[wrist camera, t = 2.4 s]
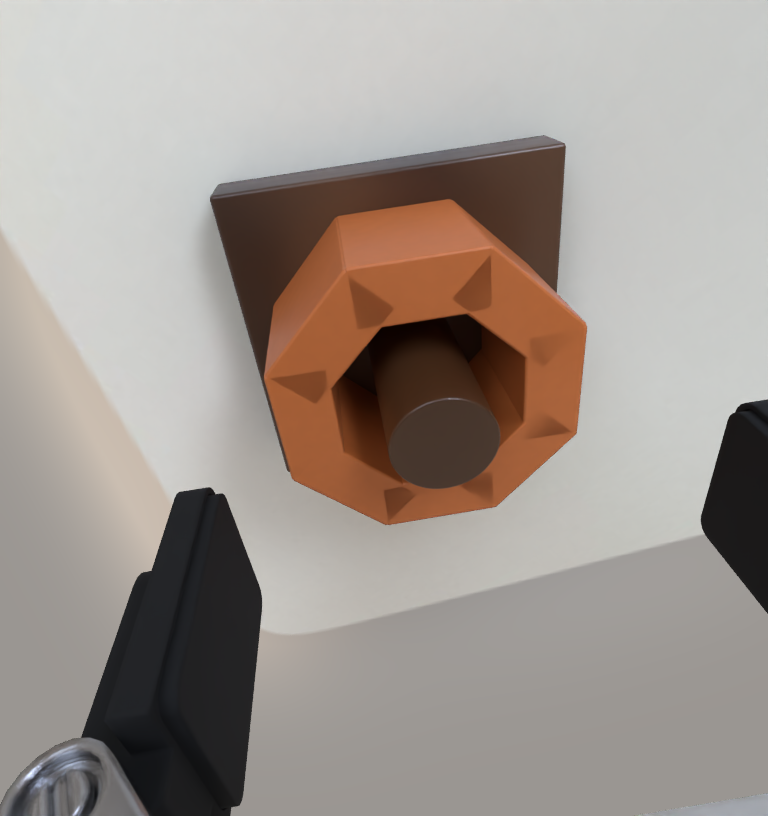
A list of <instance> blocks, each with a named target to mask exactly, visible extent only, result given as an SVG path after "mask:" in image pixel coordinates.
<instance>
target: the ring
mask: <svg viewBox="0 0 768 816" xmlns="http://www.w3.org/2000/svg"><path fill="white" fill-rule="evenodd" d="M463 314H468V315H469V316H470V317H472V318H473V319H474V320H476V321H477V322H478V323H480V324H481V337H482V349H481V350H480V351H479V352H478V353H477V354H476V355H475V356H474V357H473V359H472V360H471V361H470V362H469V363H468V364H469V366H470V368H471V370H472V372H473V374H474V376H475V378H476V380H477V382H478V384H479V386H480V388H481V390H482V392H483V394H484V396H485V398H486V400H487V402H488V404H489V406H490V408H491V410H492V412H493V414H494V416H495V418H496V420H497V422H498V424H499V428H500V444H499V448H498V451H497V454H496V456H495V457H494V459H493V461H492V462H491V463H490V465H489V466H488V467H487V468H486V469H485V470H484V471H483V472H482V473H481V474H479V475H478V476H477V477H475V478H474V479H472V480H470V481H468V482H466V483H463V484H461V485H458V486H455V487H450V488H444V489H430V488H423V487H419V486H416V485H414V484H412V483H409V482H408V481H406V480H405V479H403V478H402V477H401V476H400V475H399V474H398V473H397V472H396V471H395V469H394V468H393V466H392V464H391V462H390V459H389V454H388V449H387V444H386V439H385V434H384V428H383V423H382V418H381V413H380V408H379V402H378V397H377V396H376V395H374V394H373V393H371V392H369V391H368V390H366V389H364V388H363V387H361V386H359V385H358V384H356V383H354V382H353V381H351V380H349V379H348V378H346V377H344V376H343V374H344V373H345V371H346V370H347V369H348V368H349V366H350V365H351V364H352V363H353V362H354V360H355V359H356V358H357V357H358V355H359V354H360V353H361V352H362V351H363V349H364V348H365V347H366V346H367V344H368V343H369V342H370V341H371V340H372V338H373V337H374V336H375V335H376V333H377V332H378V331H379V330H380V329H381V327H387V326H394V325H400V324H406V323H413V322H419V321H425V320H431V319H438V318H444V317H450V316H457V315H463ZM586 333H587V326H586V323H585V322H584V321H583V320H582V319H581V318H580V317H579V315H578V314H577V313H576V312H575V311H574V310H573V309H572V308H571V307H570V306H569V305H568V304H567V303H566V302H565V301H564V300H563V299H562V298H561V297H560V296H559V295H558V294H557V293H556V292H555V291H554V290H553V289H552V288H551V287H550V286H549V285H548V284H547V283H546V282H545V281H544V280H543V279H542V278H541V277H540V276H539V275H538V274H537V273H536V272H535V271H534V270H533V269H532V268H531V267H530V266H529V265H528V264H527V263H526V262H525V261H523V260H522V259H521V258H520V257H519V256H518V255H516V254H515V253H514V252H513V251H512V250H511V249H509V248H508V247H507V246H506V245H505V244H504V243H502V242H501V241H500V240H499V239H498V238H497V237H495V236H494V235H493V234H492V233H491V232H490V231H488V230H487V229H486V228H485V227H484V226H482V225H481V224H480V223H479V222H478V221H477V220H475V219H474V218H473V217H472V216H471V215H470V214H468V213H467V212H466V211H465V210H464V209H463V208H461V207H460V206H459V205H458V204H457V203H456V202H454V201H453V200H451V199H446V200H439V201H433V202H426V203H420V204H413V205H407V206H400V207H393V208H387V209H380V210H374V211H367V212H361V213H354V214H348V215H341V216H337V217H336V218H335V219H334V220H333V221H332V223H331V224H330V226H329V227H328V228H327V230H326V231H325V233H324V234H323V236H322V237H321V238H320V240H319V241H318V243H317V244H316V245H315V247H314V248H313V250H312V251H311V253H310V254H309V255H308V257H307V258H306V260H305V261H304V262H303V264H302V265H301V267H300V268H299V270H298V271H297V272H296V274H295V275H294V277H293V278H292V279H291V281H290V282H289V284H288V285H287V287H286V288H285V289H284V291H283V292H282V294H281V295H280V297H279V298H278V299H277V301H276V302H275V304H274V306H273V313H272V321H271V328H270V336H269V343H268V350H267V358H266V365H265V373H264V381H265V385H266V388H267V392H268V395H269V399H270V402H271V406H272V409H273V413H274V416H275V420H276V424H277V427H278V431H279V434H280V438H281V441H282V445H283V448H284V452H285V455H286V459H287V463H288V466H289V470H290V473H291V477H292V479H293V480H294V481H296V482H298V483H300V484H302V485H304V486H306V487H308V488H310V489H313V490H315V491H317V492H319V493H321V494H323V495H325V496H327V497H329V498H331V499H333V500H335V501H337V502H339V503H341V504H343V505H346V506H348V507H350V508H352V509H354V510H356V511H358V512H360V513H362V514H364V515H366V516H368V517H370V518H372V519H374V520H376V521H379V522H381V523H383V524H385V525H391V524H397V523H403V522H409V521H415V520H421V519H427V518H433V517H439V516H445V515H451V514H457V513H462V512H468V511H474V510H480V509H486V508H492V507H496V506H497V505H498V504H499V503H501V502H502V501H503V500H504V499H505V498H506V497H507V496H508V495H509V494H510V493H512V492H513V491H514V490H515V489H516V488H517V487H518V486H519V485H520V484H521V483H523V482H524V481H525V480H526V479H527V478H528V477H529V476H530V475H531V474H533V473H534V472H535V471H536V470H537V469H538V468H539V467H540V466H541V465H542V464H544V463H545V462H546V461H547V460H548V459H549V458H550V457H551V456H552V455H553V454H555V453H556V452H557V451H558V450H559V449H560V448H561V447H562V446H563V445H565V444H566V443H567V442H568V441H569V440H570V439H571V438H572V437H573V436H574V435H576V433H577V425H578V415H579V404H580V394H581V384H582V374H583V364H584V353H585V343H586Z"/></svg>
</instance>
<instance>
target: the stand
mask: <svg viewBox="0 0 768 816" xmlns="http://www.w3.org/2000/svg"><path fill="white" fill-rule="evenodd" d="M565 149H566V146H565V143H562V142H560V141H557V140H555V139H552V138H550V137H547V136H544V135H543V136H537V137H530V138H523V139H517V140H510V141H503V142H497V143H490V144H483V145H477V146H470V147H463V148H457V149H450V150H443V151H437V152H430V153H423V154H417V155H410V156H403V157H397V158H390V159H383V160H377V161H370V162H363V163H357V164H350V165H343V166H337V167H330V168H323V169H317V170H310V171H303V172H297V173H290V174H284V175H277V176H270V177H264V178H257V179H250V180H244V181H237V182H230V183H224V184H219V185H218V186H217V187H216V189H215V190H214V192H213V194H212V195H211V197H210V202H211V205H212V209H213V212H214V216H215V219H216V223H217V226H218V230H219V233H220V237H221V240H222V244H223V247H224V251H225V254H226V258H227V261H228V265H229V268H230V272H231V275H232V279H233V282H234V286H235V289H236V293H237V296H238V300H239V303H240V307H241V310H242V314H243V317H244V321H245V324H246V328H247V331H248V335H249V338H250V342H251V345H252V349H253V352H254V356H255V359H256V363H257V366H258V370H259V373H260V377H261V380H262V384H263V387H264V391H265V394H266V398H267V401H268V405H269V408H270V412H271V415H272V419H273V422H274V426H275V429H276V433H277V436H278V440H279V443H280V447H281V450H282V454H283V457H284V461H285V464H286V468H287V470H288V472H290V470H289V466H288V463H287V459H286V455H285V452H284V448H283V445H282V441H281V438H280V434H279V431H278V427H277V424H276V420H275V416H274V413H273V409H272V406H271V402H270V399H269V395H268V392H267V388H266V385H265V381H264V373H265V365H266V358H267V350H268V343H269V336H270V328H271V321H272V313H273V306H274V304H275V302H276V301H277V299H278V298H279V297H280V295H281V294H282V292H283V291H284V289H285V288H286V287H287V285H288V284H289V282H290V281H291V279H292V278H293V277H294V275H295V274H296V272H297V271H298V270H299V268H300V267H301V265H302V264H303V262H304V261H305V260H306V258H307V257H308V255H309V254H310V253H311V251H312V250H313V248H314V247H315V245H316V244H317V243H318V241H319V240H320V238H321V237H322V236H323V234H324V233H325V231H326V230H327V228H328V227H329V226H330V224H331V223H332V221H333V220H334V219H335V218H336V217H337V216H341V215H348V214H354V213H361V212H367V211H374V210H380V209H387V208H393V207H400V206H407V205H413V204H420V203H426V202H433V201H439V200H446V199H451V200H453V201H454V202H456V203H457V204H458V205H459V206H460V207H461V208H463V209H464V210H465V211H466V212H467V213H468V214H470V215H471V216H472V217H473V218H474V219H475V220H477V221H478V222H479V223H480V224H481V225H482V226H484V227H485V228H486V229H487V230H488V231H490V232H491V233H492V234H493V235H494V236H495V237H497V238H498V239H499V240H500V241H501V242H502V243H504V244H505V245H506V246H507V247H508V248H509V249H511V250H512V251H513V252H514V253H515V254H516V255H518V256H519V257H520V258H521V259H522V260H523V261H525V262H526V263H527V264H528V265H529V266H530V267H531V268H532V269H533V270H534V271H535V272H536V273H537V274H538V275H539V276H540V277H541V278H542V279H543V280H544V281H545V282H546V283H547V284H548V285H549V286H550V287H551V288H552V289H553V290H554V291H555V292H556V293H557V279H558V263H559V247H560V230H561V214H562V198H563V182H564V165H565ZM481 349H482V337H481V324H480V323H478V322H477V321H476V320H474V319H473V318H472V317H470V316H469V315H468V314H463V315H457V316H450V317H444V318H438V319H431V320H425V321H419V322H413V323H406V324H400V325H394V326H387V327H381V329H380V330H379V331H378V332H377V333H376V335H375V336H374V337H373V338H372V340H371V341H370V342H369V343H368V344H367V346H366V347H365V348H364V349H363V351H362V352H361V353H360V354H359V355H358V357H357V358H356V359H355V360H354V362H353V363H352V364H351V365H350V366H349V368H348V369H347V370H346V371H345V373H344V374H343V376H344V377H346V378H348V379H349V380H351V381H353V382H354V383H356V384H358V385H359V386H361V387H363V388H364V389H366V390H368V391H369V392H371V393H373V394H374V395H376V396H377V397H378V402H379V408H380V413H381V418H382V423H383V428H384V434H385V439H386V444H387V449H388V454H389V459H390V462H391V464H392V466H393V468H394V469H395V471H396V472H397V473H398V474H399V475H400V476H401V477H402V478H403V479H405V480H406V481H408V482H409V483H412V484H414V485H416V486H419V487H423V488H430V489H444V488H450V487H455V486H458V485H461V484H463V483H466V482H468V481H470V480H472V479H474V478H475V477H477V476H478V475H479V474H481V473H482V472H483V471H484V470H485V469H486V468H487V467H488V466H489V465H490V463H491V462H492V461H493V459H494V457H495V456H496V454H497V451H498V448H499V444H500V428H499V424H498V422H497V420H496V418H495V416H494V414H493V412H492V410H491V408H490V406H489V404H488V402H487V400H486V398H485V396H484V394H483V392H482V390H481V388H480V386H479V384H478V382H477V380H476V378H475V376H474V374H473V372H472V370H471V368H470V366H469V364H468V363H469V362H470V361H471V360H472V359H473V357H474V356H475V355H476V354H477V353H478V352H479V351H480V350H481Z"/></svg>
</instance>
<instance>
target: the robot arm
mask: <svg viewBox="0 0 768 816" xmlns="http://www.w3.org/2000/svg"><path fill="white" fill-rule="evenodd" d="M701 525H702V529H703V531H704V533H705V535H706V536H707V538H708V539H709V540H710V542H711V543H712V544H713V545H714V547H715V548H716V549H717V550H718V552H719V553H720V554H721V555H722V557H723V558H724V559H725V561H726V562H727V563H728V564H729V566H730V567H731V568H732V569H733V570H734V572H735V573H736V574H737V576H738V577H739V578H740V579H741V581H742V582H743V583H744V584H745V585H746V587H747V588H748V589H749V590H750V592H751V593H752V594H753V596H754V597H755V598H756V600H757V601H758V602H759V603H760V605H761V606H762V607H763V608H764V610H765V611H766V612H767V613H768V400H762V401H755V402H749V403H744V404H741V405H740V406H739V407H738V408H737V410H736V412H735V413H733V414H731V415H730V417H729V419H728V422H727V425H726V429H725V433H724V436H723V440H722V443H721V447H720V450H719V454H718V458H717V461H716V465H715V468H714V472H713V476H712V479H711V483H710V486H709V490H708V493H707V497H706V501H705V504H704V508H703V511H702V515H701ZM261 613H262V595H261V590H260V587H259V584H258V581H257V579H256V576H255V573H254V571H253V568H252V565H251V563H250V560H249V557H248V555H247V552H246V550H245V547H244V544H243V542H242V539H241V536H240V534H239V531H238V528H237V526H236V523H235V520H234V518H233V515H232V512H231V510H230V507H229V504H228V502H227V499H226V497H225V495H224V494H216V495H215V493H214V491H213V489H212V488H209V487H208V488H202V489H196V490H189V491H183V492H179V493H177V495H176V497H175V499H174V502H173V505H172V508H171V512H170V515H169V518H168V521H167V524H166V528H165V530H164V534H163V537H162V540H161V543H160V546H159V549H158V553H157V555H156V559H155V562H154V565H153V568H152V571H149V572H143V573H141V574H140V575H139V576H138V578H137V580H136V581H135V584H134V586H133V588H132V592H131V594H130V597H129V600H128V603H127V606H126V609H125V612H124V615H123V618H122V620H121V624H120V626H119V629H118V632H117V635H116V638H115V641H114V644H113V647H112V650H111V652H110V655H109V658H108V661H107V664H106V667H105V670H104V673H103V676H102V679H101V682H100V684H99V687H98V690H97V693H96V696H95V699H94V702H93V705H92V708H91V711H90V714H89V716H88V719H87V722H86V725H85V728H84V731H83V734H82V737H81V738H76V739H71V740H68V741H66V742H63V743H60V744H58V745H55V746H54V747H52V748H51V749H49V750H48V751H46V752H45V753H43V754H41V755H40V756H38V757H37V758H36V759H35V760H34V761H33V762H32V763H31V764H30V765H29V766H27V767H26V768H25V769H24V770H23V771H22V772H21V773H20V775H19V776H18V777H17V778H16V780H15V781H14V782H13V784H12V785H11V786H10V788H9V789H8V790H7V792H6V794H5V796H4V798H3V800H2V802H1V804H0V816H230V813H231V807H235V806H239V805H240V803H241V801H242V797H243V791H244V781H245V771H246V761H247V751H248V742H249V732H250V722H251V712H252V702H253V692H254V682H255V672H256V662H257V651H258V643H259V633H260V623H261ZM636 816H768V793H766V794H760V795H754V796H748V797H742V798H736V799H731V800H724V801H719V802H713V803H707V804H701V805H695V806H689V807H683V808H677V809H671V810H665V811H660V812H654V813H648V814H642V815H636Z"/></svg>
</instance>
